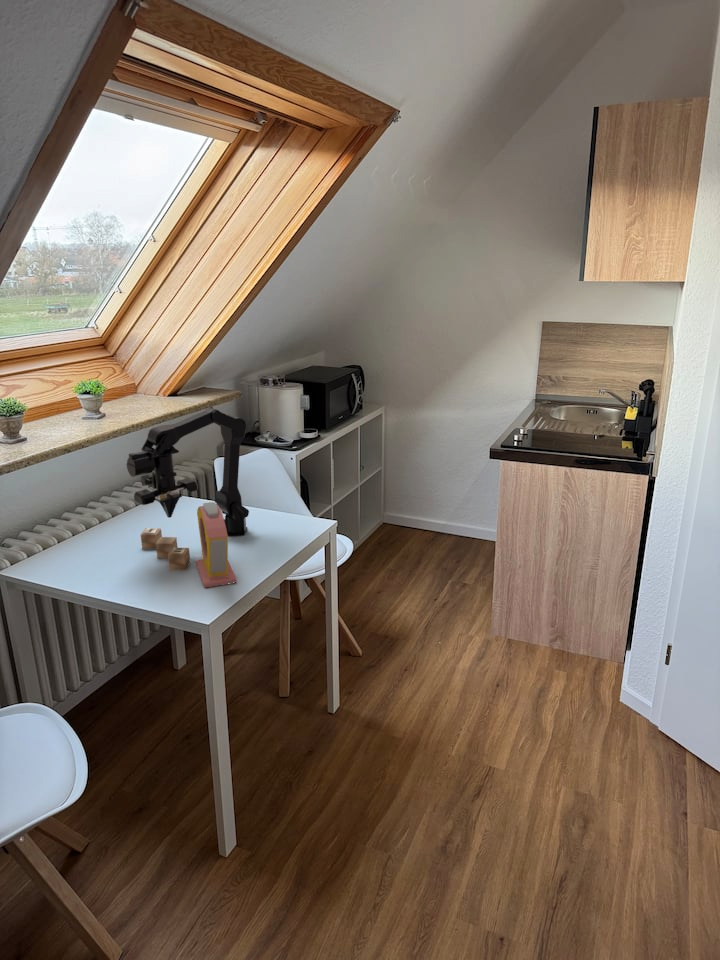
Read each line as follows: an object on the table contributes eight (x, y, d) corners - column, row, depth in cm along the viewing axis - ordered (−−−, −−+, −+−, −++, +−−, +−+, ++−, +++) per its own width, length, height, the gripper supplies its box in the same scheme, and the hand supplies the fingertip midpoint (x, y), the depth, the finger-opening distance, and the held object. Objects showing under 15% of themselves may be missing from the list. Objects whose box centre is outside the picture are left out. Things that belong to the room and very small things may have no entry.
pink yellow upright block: (194, 561, 211) (188, 494, 204) (224, 556, 214) (220, 491, 208) (205, 593, 192) (199, 521, 185) (238, 587, 195) (234, 516, 188)
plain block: (177, 551, 218) (176, 537, 217) (173, 558, 214) (171, 543, 212) (162, 551, 218) (160, 537, 217) (157, 558, 214) (155, 543, 212)
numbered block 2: (190, 562, 211) (188, 546, 209) (185, 570, 206) (184, 553, 204) (173, 562, 211) (172, 546, 209) (169, 569, 206) (167, 553, 204)
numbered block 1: (162, 542, 225) (160, 527, 223) (157, 548, 220) (156, 533, 219) (147, 542, 225) (145, 527, 223) (142, 548, 220) (140, 533, 219)
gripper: (177, 457, 220) (182, 502, 225) (122, 470, 208) (129, 518, 213) (196, 464, 213) (201, 511, 218) (140, 478, 201) (146, 528, 206)
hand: (169, 517), depth 214 cm, fingers closed
